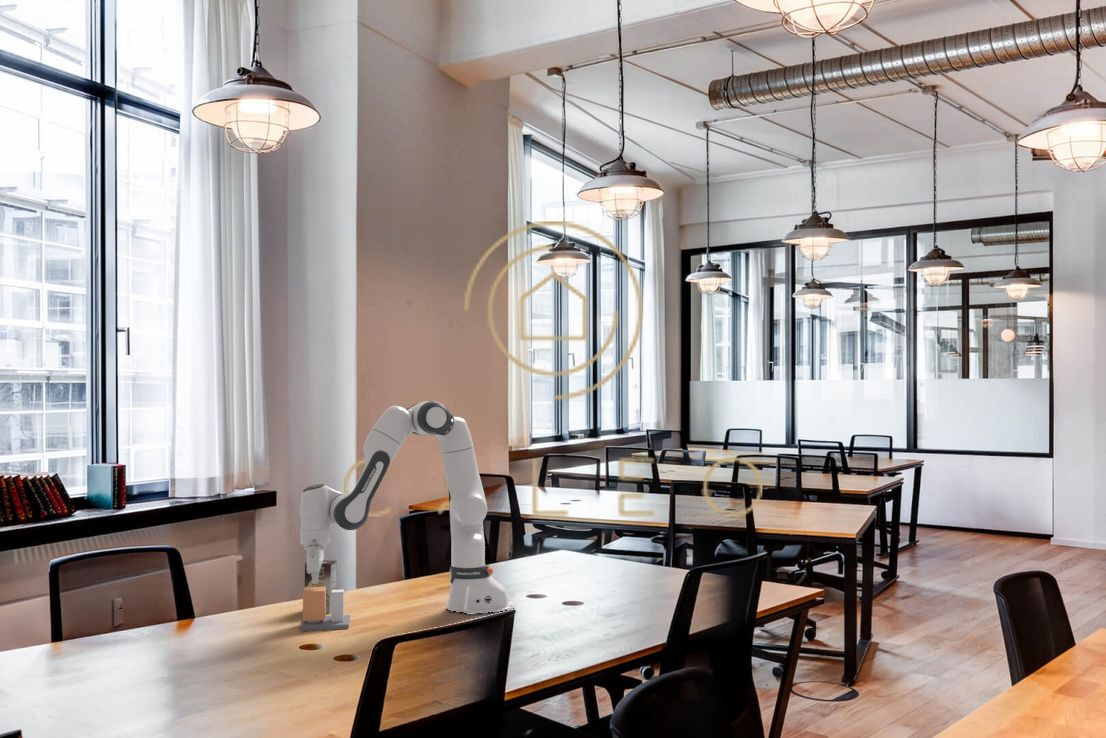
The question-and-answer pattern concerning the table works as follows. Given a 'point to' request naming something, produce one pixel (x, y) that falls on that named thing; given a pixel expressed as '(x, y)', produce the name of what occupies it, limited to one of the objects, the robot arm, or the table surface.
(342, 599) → the post base
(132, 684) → the table surface
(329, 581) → the coffee box
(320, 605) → the orange block
